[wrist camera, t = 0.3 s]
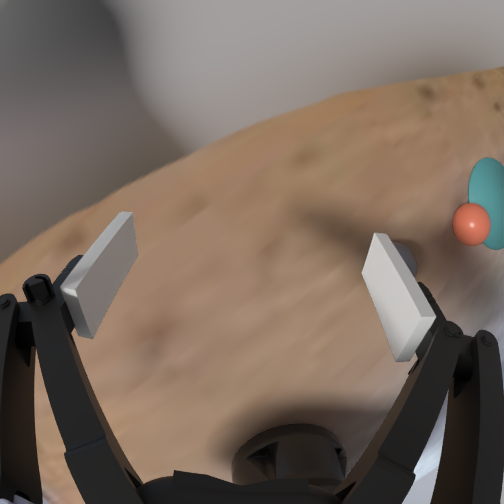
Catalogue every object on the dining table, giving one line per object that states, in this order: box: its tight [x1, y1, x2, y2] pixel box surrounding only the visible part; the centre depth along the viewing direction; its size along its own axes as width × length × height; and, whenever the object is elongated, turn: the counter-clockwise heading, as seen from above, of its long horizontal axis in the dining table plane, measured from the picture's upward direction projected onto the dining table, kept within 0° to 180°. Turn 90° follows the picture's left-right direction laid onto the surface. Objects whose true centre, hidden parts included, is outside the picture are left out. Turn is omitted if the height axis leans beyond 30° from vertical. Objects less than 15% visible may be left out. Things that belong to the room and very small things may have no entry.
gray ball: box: [392, 242, 417, 278], centre depth 30 cm, size 6×6×6 cm
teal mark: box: [468, 158, 504, 250], centre depth 35 cm, size 14×14×1 cm
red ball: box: [453, 203, 491, 246], centre depth 31 cm, size 6×6×6 cm
